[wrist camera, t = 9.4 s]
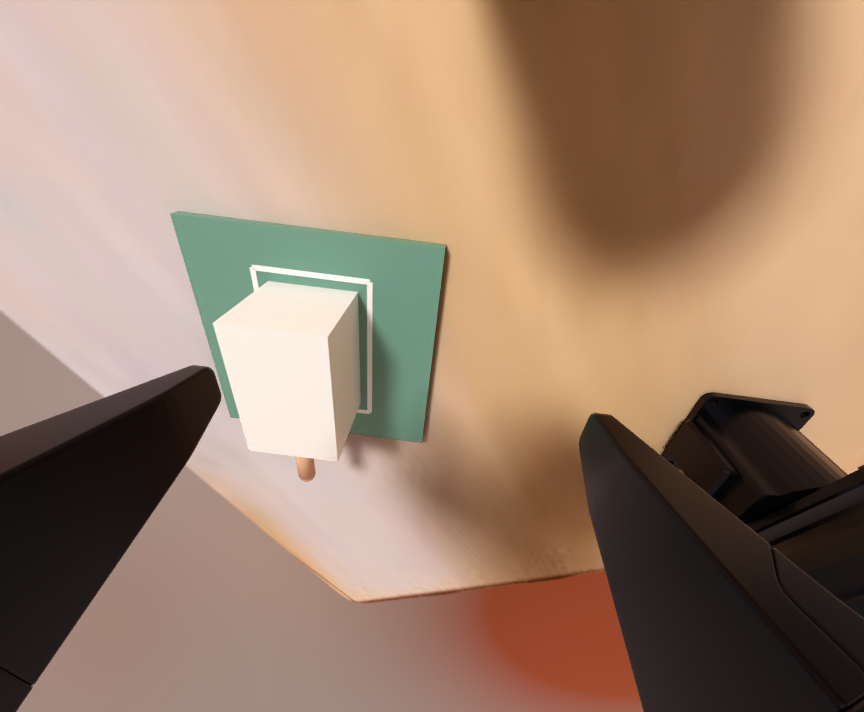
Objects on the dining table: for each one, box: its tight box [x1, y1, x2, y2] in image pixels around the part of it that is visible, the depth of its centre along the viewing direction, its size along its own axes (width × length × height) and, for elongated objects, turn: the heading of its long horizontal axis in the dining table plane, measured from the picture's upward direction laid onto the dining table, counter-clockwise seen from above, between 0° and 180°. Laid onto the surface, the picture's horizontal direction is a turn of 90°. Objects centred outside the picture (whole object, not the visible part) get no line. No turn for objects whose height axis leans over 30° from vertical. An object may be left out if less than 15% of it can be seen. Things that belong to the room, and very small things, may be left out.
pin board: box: [170, 211, 446, 443], centre depth 21 cm, size 14×14×3 cm
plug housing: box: [213, 281, 361, 482], centre depth 20 cm, size 5×12×5 cm, turn 175°
